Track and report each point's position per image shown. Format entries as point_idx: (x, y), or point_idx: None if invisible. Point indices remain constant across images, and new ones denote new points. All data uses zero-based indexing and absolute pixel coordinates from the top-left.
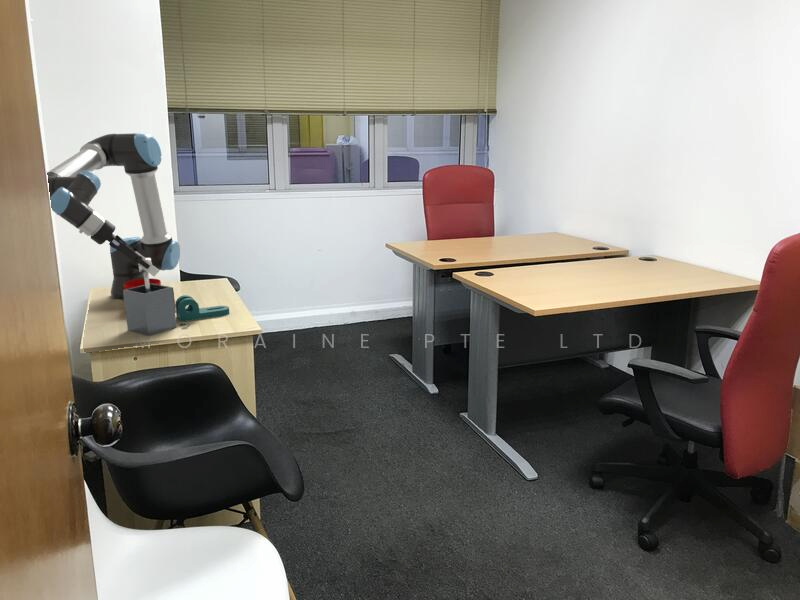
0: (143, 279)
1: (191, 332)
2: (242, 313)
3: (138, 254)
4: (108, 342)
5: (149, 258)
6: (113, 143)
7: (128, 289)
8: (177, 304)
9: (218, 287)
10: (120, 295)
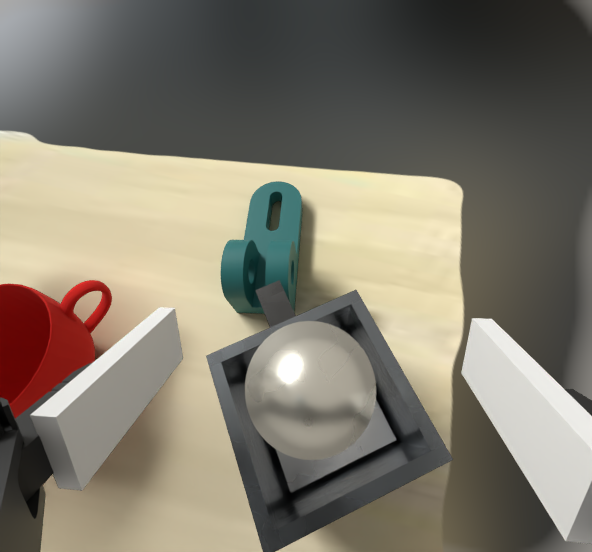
0: None
1: (423, 315)
2: (311, 171)
3: (95, 397)
4: None
5: (316, 334)
6: None
7: (269, 514)
8: (246, 293)
9: (40, 160)
10: None
